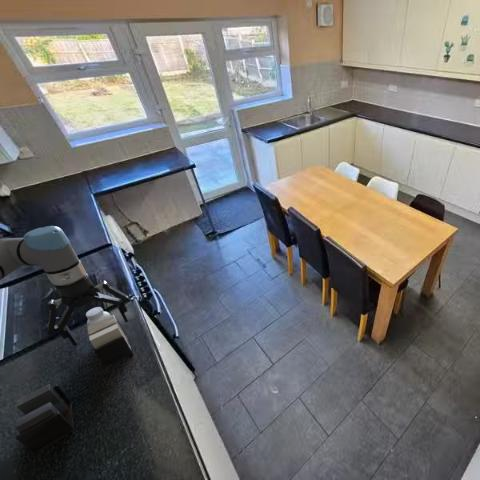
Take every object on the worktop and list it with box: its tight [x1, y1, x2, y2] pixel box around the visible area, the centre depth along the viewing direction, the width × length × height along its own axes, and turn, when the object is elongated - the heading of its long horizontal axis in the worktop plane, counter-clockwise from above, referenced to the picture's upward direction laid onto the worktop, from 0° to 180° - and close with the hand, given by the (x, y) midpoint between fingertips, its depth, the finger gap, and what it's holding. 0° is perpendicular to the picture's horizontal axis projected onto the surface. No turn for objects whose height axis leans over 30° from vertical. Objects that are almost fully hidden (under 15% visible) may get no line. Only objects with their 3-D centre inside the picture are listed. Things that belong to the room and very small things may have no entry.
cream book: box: [88, 324, 131, 349], centre depth 90 cm, size 2×8×11 cm, turn 133°
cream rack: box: [86, 314, 134, 368], centre depth 92 cm, size 11×8×12 cm
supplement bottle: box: [85, 306, 111, 326], centre depth 98 cm, size 7×7×13 cm
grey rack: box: [14, 383, 75, 455], centre depth 72 cm, size 11×8×11 cm
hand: (101, 330), depth 87 cm, fingers open, 13 cm apart
